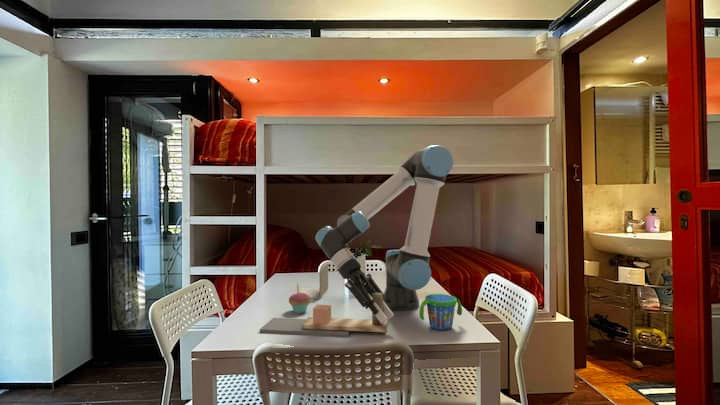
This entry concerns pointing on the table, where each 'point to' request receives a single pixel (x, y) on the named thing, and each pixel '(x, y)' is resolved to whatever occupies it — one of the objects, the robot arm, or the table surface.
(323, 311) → the cube
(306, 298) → the cupcake
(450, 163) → the robot arm
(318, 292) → the laptop
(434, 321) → the snack cup
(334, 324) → the tan wooden stand
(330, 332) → the lane board
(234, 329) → the table surface
